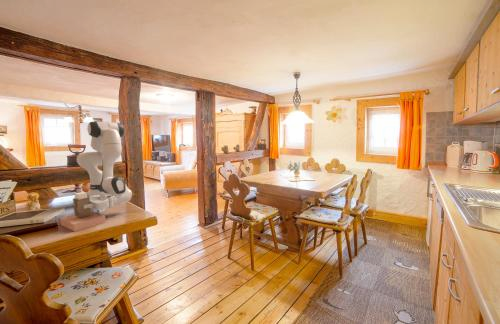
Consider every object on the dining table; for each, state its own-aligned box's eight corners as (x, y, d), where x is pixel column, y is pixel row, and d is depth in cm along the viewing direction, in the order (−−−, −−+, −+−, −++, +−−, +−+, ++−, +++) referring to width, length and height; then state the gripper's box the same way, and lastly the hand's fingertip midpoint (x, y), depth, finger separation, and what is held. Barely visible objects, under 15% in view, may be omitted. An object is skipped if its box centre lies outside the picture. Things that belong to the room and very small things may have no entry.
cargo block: (75, 198, 138) (74, 193, 137) (83, 196, 141) (83, 191, 141) (78, 199, 135) (78, 194, 135) (87, 197, 139) (86, 192, 139)
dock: (60, 224, 138) (60, 218, 138) (91, 216, 152) (90, 210, 151) (74, 231, 128) (73, 224, 128) (105, 222, 142) (105, 215, 141)
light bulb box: (93, 215, 154) (92, 199, 153) (84, 214, 156) (83, 198, 155) (106, 210, 165) (105, 195, 164) (98, 209, 166) (97, 194, 165)
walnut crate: (74, 215, 139) (73, 198, 137) (86, 212, 144) (84, 196, 142) (79, 217, 135) (77, 200, 134) (91, 214, 140) (89, 197, 139)
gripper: (96, 193, 155) (71, 198, 143) (113, 197, 144) (88, 203, 132) (97, 202, 156) (72, 208, 144) (114, 207, 144) (89, 214, 133)
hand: (80, 206), depth 138 cm, fingers closed on walnut crate, 6 cm apart
